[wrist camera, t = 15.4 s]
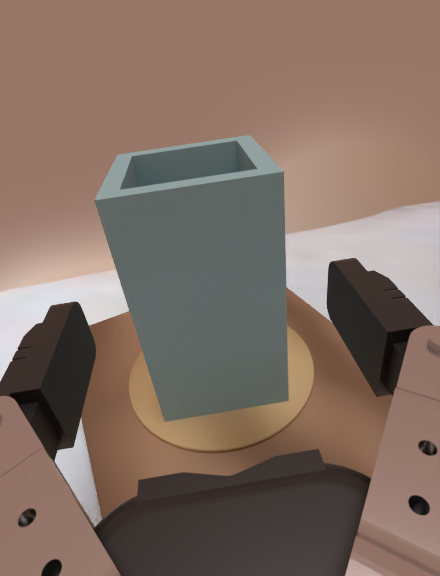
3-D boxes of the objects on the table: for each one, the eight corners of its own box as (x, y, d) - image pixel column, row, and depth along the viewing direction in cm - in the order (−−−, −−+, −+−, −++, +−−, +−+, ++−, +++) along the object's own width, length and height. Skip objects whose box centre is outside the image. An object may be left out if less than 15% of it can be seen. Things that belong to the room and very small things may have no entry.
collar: (262, 323, 23) (249, 135, 17) (288, 401, 18) (283, 171, 12) (166, 339, 23) (117, 154, 16) (164, 421, 18) (94, 200, 11)
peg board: (258, 285, 30) (247, 125, 24) (448, 448, 17) (546, 193, 10) (74, 356, 26) (-6, 183, 19) (141, 655, 12) (-43, 436, 6)
